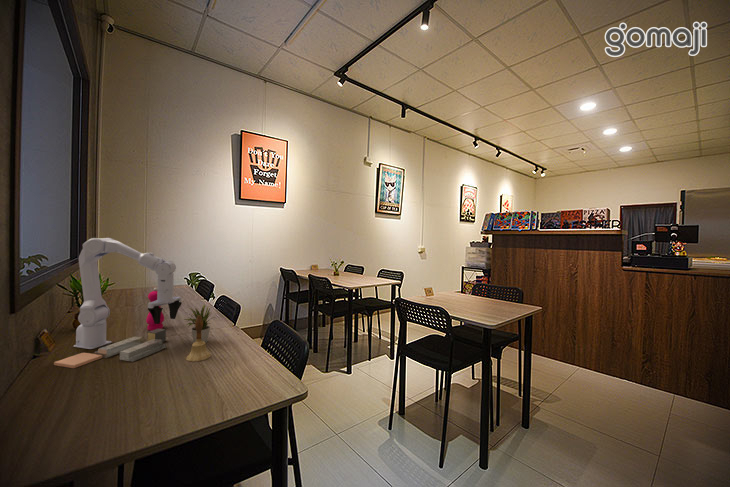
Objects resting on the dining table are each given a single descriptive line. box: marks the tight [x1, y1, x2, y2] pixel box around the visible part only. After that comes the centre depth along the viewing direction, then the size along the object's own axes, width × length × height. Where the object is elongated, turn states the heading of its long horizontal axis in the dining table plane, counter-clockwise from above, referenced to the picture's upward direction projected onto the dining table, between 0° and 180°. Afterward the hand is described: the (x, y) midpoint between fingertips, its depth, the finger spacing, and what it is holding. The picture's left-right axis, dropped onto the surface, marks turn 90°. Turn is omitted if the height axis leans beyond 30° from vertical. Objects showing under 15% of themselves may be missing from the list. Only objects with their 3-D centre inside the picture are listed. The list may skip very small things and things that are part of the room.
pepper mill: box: [145, 287, 165, 331], centre depth 145 cm, size 7×7×20 cm
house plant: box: [183, 304, 217, 344], centre depth 130 cm, size 14×14×16 cm
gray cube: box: [147, 328, 167, 343], centre depth 128 cm, size 4×5×5 cm
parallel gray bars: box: [93, 336, 167, 363], centre depth 117 cm, size 18×14×3 cm
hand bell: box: [185, 314, 212, 363], centre depth 114 cm, size 8×8×16 cm
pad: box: [53, 352, 103, 369], centre depth 107 cm, size 9×9×1 cm
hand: (165, 321), depth 128 cm, fingers open, 7 cm apart
